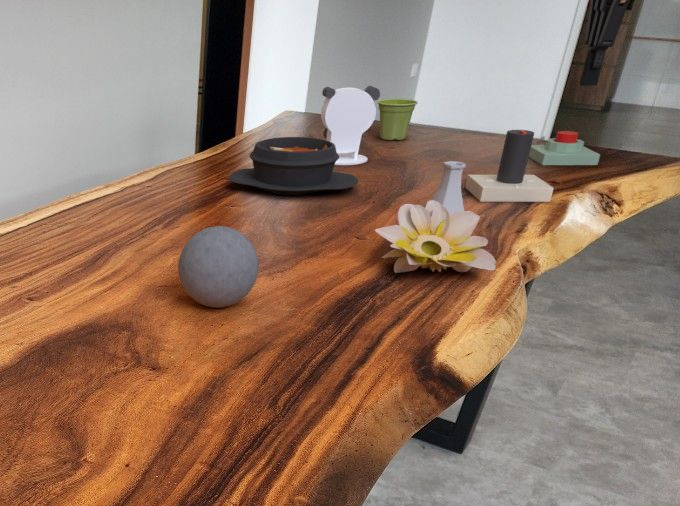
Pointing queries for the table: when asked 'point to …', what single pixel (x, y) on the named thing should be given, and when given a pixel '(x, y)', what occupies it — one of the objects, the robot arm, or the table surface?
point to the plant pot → (395, 117)
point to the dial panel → (509, 189)
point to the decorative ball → (218, 266)
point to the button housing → (563, 153)
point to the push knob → (566, 137)
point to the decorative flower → (436, 239)
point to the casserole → (294, 167)
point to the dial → (515, 156)
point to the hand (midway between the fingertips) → (588, 85)
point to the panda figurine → (348, 120)
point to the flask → (451, 187)
